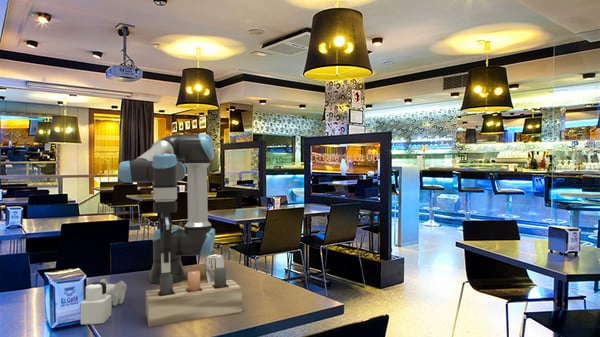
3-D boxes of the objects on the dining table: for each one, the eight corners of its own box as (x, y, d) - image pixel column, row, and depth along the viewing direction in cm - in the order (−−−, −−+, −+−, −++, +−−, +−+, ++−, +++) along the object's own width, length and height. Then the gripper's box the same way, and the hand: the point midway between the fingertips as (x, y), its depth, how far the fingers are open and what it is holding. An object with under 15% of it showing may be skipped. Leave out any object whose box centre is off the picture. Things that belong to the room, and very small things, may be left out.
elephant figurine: (86, 308, 144) (86, 283, 144) (113, 298, 155) (113, 275, 155) (106, 311, 141) (106, 286, 141) (132, 301, 152) (132, 277, 152)
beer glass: (220, 298, 154) (219, 258, 154) (202, 297, 155) (202, 257, 155) (227, 292, 161) (226, 254, 161) (210, 291, 162) (210, 254, 162)
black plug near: (159, 297, 135) (159, 274, 135) (171, 296, 137) (171, 273, 137) (160, 301, 132) (160, 277, 132) (173, 299, 133) (173, 275, 133)
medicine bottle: (89, 316, 136) (89, 280, 136) (111, 315, 137) (111, 280, 137) (80, 324, 129) (79, 287, 129) (103, 323, 129) (102, 286, 129)
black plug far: (213, 290, 143) (213, 268, 143) (224, 288, 144) (224, 266, 144) (215, 293, 139) (215, 270, 139) (227, 291, 141) (227, 269, 141)
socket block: (145, 314, 137) (145, 290, 137) (232, 301, 150) (232, 279, 150) (148, 327, 126) (148, 301, 126) (242, 311, 139) (241, 288, 139)
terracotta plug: (187, 294, 139) (186, 271, 139) (198, 292, 141) (198, 269, 141) (189, 297, 135) (188, 273, 135) (201, 295, 137) (200, 272, 137)
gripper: (151, 199, 139) (152, 269, 138) (154, 202, 127) (155, 278, 127) (174, 198, 142) (174, 266, 142) (179, 201, 130) (180, 275, 130)
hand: (165, 272), depth 134 cm, fingers closed
